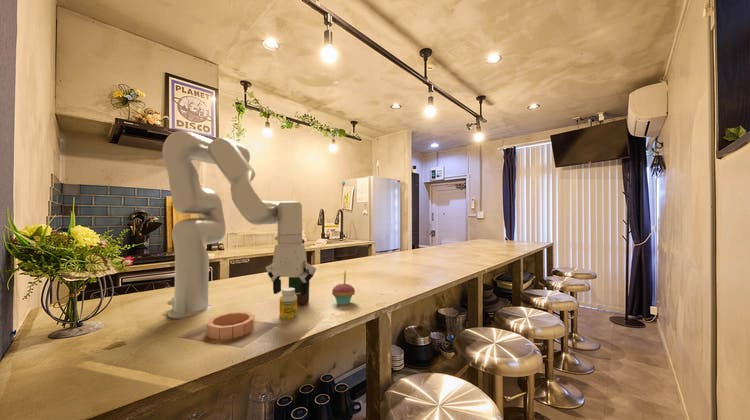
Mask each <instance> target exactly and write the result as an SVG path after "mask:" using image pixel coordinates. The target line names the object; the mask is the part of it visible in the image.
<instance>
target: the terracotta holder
mask: <svg viewBox="0 0 750 420" xmlns="http://www.w3.org/2000/svg"><path fill="white" fill-rule="evenodd" d="M254 321H255V315H254V314H253V313H252V312H249V311H248V312H247V311H232V312H225V313H221V314H218V315H216V316H213V317H211V318H210V319H209V320H208V321H207V322H206V324H207V336H208V337H209V338H212V339H220V340H221V339H231V338H236V337H239V336H242V335H245V334H247V333H249V332H250V331H252V330H253V328H254ZM237 323H238V324H237ZM229 324H235V325H229ZM225 325H227V326H225Z"/></svg>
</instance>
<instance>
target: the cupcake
mask: <svg viewBox="0 0 750 420" xmlns="http://www.w3.org/2000/svg"><path fill="white" fill-rule="evenodd" d="M343 274H344V275H343V283H339V284H337V285H336V286H334V287H333V288H332V290H331V291H332V292H331V294H332V296H333V297H334V298H335V301H336V304H338V305H339V306H346V305H349V304H350V303H351V299H352V297H353V295H355V294H356V293H355V291H356V290H355V287H353V286H352V285H351V284H348V283H346V281H347V279H346V278H347V271H346V270H344V273H343Z"/></svg>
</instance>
